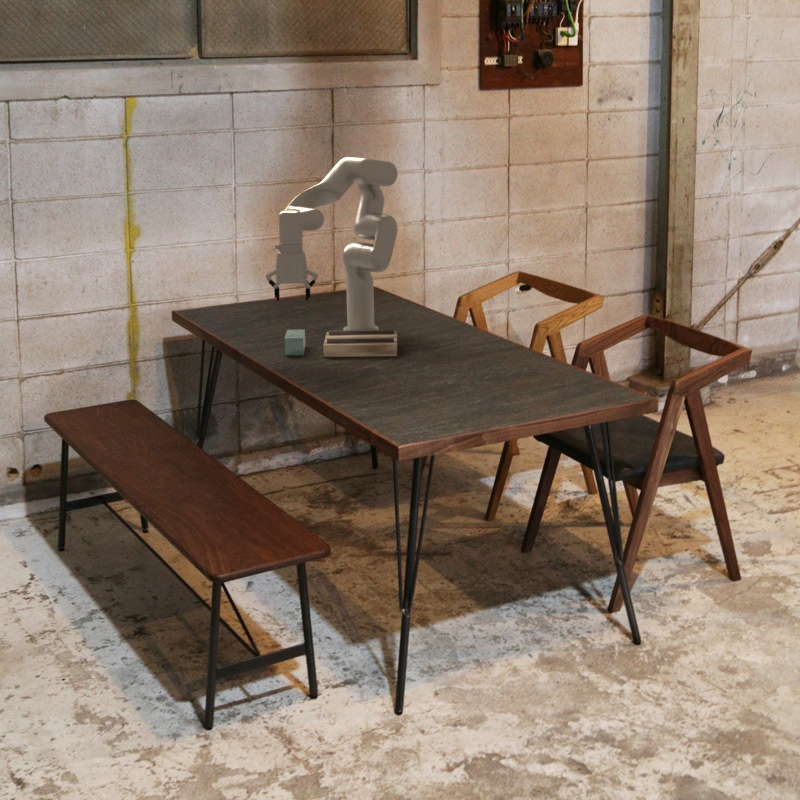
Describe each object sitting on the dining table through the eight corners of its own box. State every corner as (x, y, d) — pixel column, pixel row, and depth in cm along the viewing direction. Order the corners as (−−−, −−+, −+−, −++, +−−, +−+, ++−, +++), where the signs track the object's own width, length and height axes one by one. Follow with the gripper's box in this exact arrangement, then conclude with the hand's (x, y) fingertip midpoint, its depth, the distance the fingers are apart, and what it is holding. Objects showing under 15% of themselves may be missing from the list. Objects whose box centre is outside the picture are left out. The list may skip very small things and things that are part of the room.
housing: (287, 347, 438) (287, 329, 436) (305, 346, 438) (304, 329, 436) (285, 355, 426) (284, 338, 425) (303, 355, 426) (302, 338, 425)
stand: (327, 343, 441) (326, 328, 439) (397, 342, 440) (397, 327, 439) (323, 357, 423) (323, 341, 422) (396, 355, 423) (396, 340, 422)
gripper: (263, 250, 419) (265, 302, 423) (316, 250, 418) (318, 302, 423) (266, 246, 426) (267, 297, 430) (318, 246, 426) (319, 297, 430)
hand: (292, 299), depth 427 cm, fingers open, 9 cm apart
